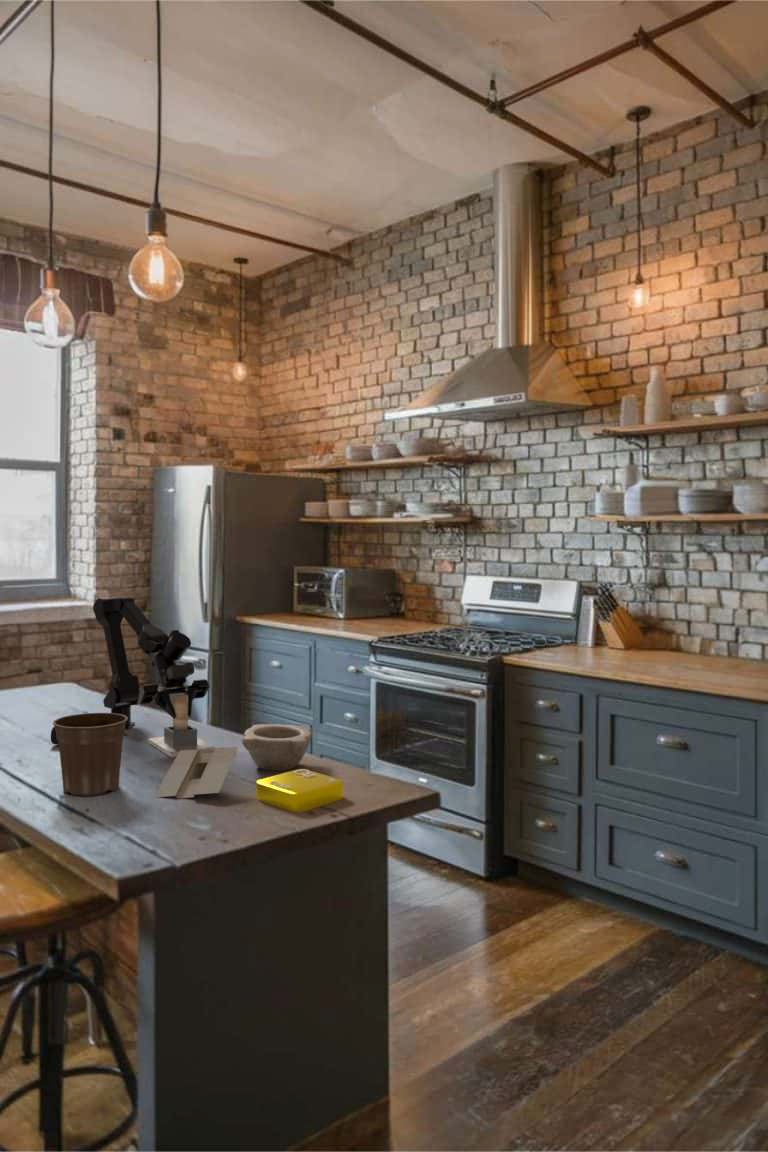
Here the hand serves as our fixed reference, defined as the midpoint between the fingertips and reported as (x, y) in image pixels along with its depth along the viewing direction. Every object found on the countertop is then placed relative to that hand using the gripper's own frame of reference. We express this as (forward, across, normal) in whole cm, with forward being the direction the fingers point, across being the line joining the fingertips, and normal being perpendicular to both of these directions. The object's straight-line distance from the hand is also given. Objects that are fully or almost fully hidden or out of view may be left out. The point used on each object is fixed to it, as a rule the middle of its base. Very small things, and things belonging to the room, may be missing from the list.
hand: (182, 716), depth 235 cm
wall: (+34, -11, -21) cm, 41 cm away
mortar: (+27, +14, -15) cm, 34 cm away
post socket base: (+5, 0, +7) cm, 9 cm away
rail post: (+4, 0, +6) cm, 7 cm away
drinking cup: (-11, -29, +20) cm, 36 cm away
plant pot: (+23, -31, -11) cm, 40 cm away
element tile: (+45, +6, -32) cm, 56 cm away
